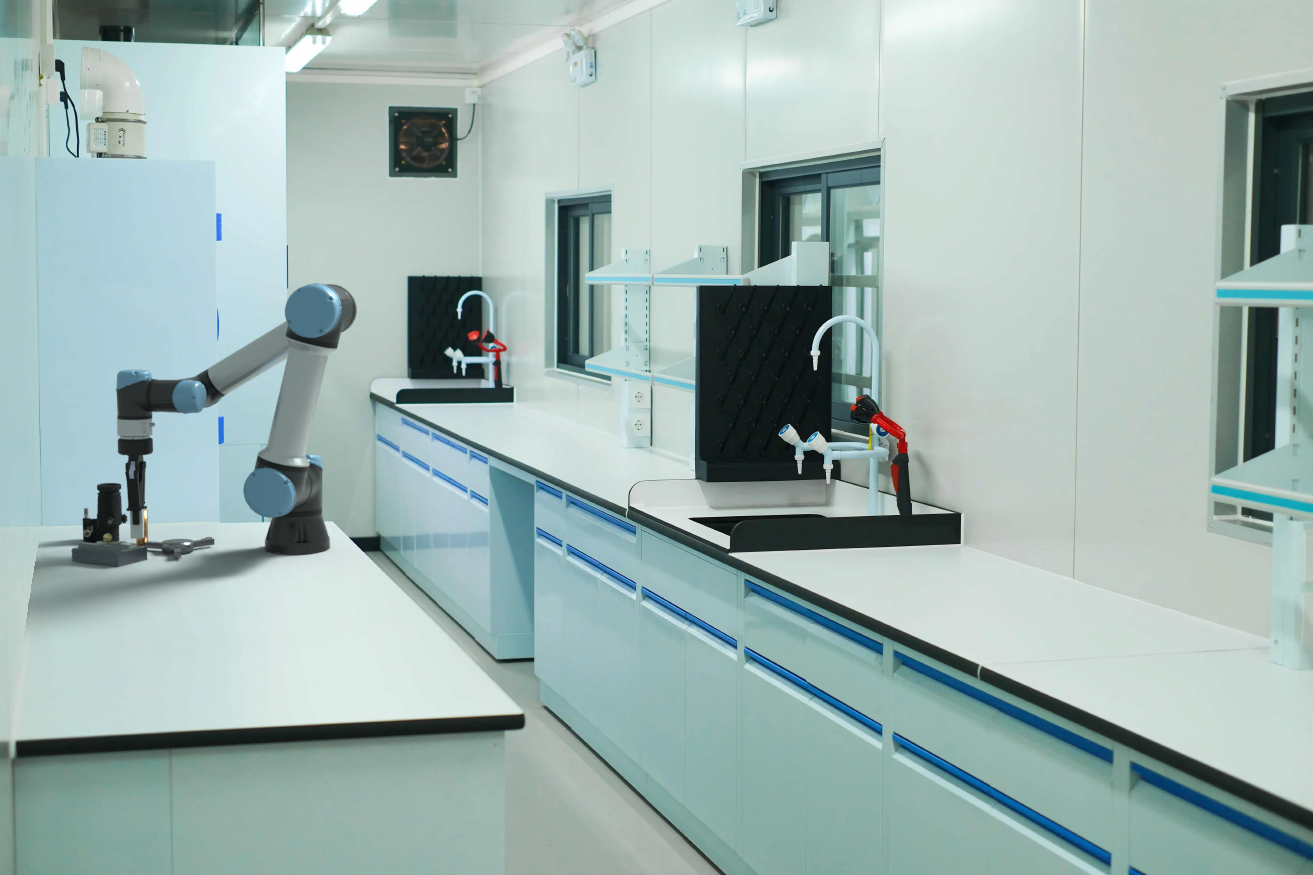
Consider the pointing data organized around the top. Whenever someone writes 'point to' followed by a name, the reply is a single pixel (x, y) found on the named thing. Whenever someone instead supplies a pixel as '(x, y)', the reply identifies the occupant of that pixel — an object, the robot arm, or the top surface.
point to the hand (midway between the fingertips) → (137, 537)
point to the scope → (105, 514)
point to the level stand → (109, 552)
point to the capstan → (171, 542)
